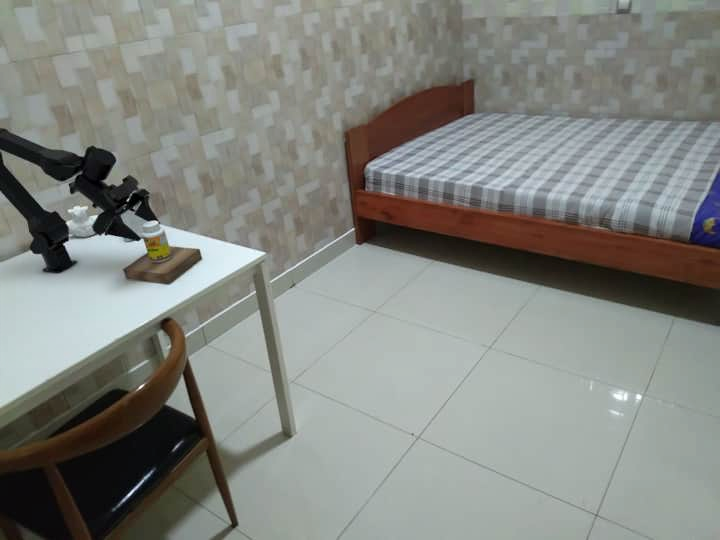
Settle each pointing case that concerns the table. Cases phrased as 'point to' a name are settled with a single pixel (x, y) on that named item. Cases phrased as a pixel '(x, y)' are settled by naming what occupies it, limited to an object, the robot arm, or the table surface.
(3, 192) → the robot arm
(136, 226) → the photo printer
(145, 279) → the walnut stand
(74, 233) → the bust
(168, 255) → the supplement bottle
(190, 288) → the table surface
